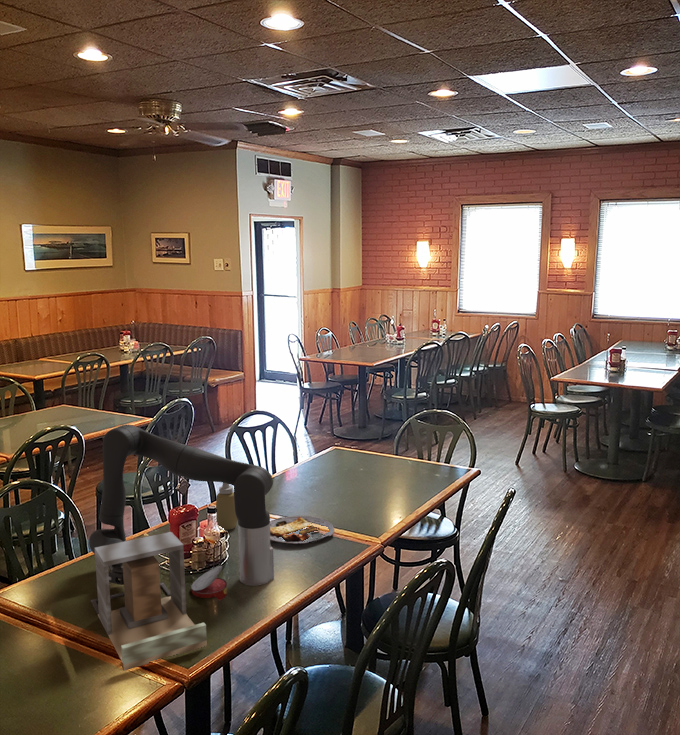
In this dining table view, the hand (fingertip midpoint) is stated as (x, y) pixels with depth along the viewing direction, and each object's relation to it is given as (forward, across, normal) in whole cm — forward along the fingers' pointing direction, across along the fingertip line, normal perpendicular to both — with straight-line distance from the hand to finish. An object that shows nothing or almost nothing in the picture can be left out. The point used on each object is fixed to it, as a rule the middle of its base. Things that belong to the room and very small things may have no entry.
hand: (137, 584), depth 189 cm
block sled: (+4, 0, +7) cm, 8 cm away
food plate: (-27, +61, +9) cm, 67 cm away
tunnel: (+6, 0, +9) cm, 11 cm away
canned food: (-1, +20, +9) cm, 22 cm away
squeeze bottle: (-45, +43, +9) cm, 63 cm away
